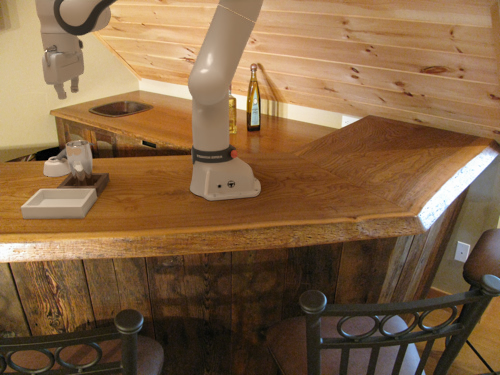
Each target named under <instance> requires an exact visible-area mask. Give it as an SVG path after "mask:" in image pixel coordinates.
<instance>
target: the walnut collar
mask: <svg viewBox="0 0 500 375" xmlns="http://www.w3.org/2000/svg"><path fill="white" fill-rule="evenodd" d="M92 179H93V182H94V186H75V181H74V177H73V174H72V172H71V173H69V174H68V175H67V177H66V178H64V180H63V181H62V182H61V183H60V184H59V185H58V186H57V187H56V188H55V189H85V188H95V189H96V195H97V198H99V197H100V196H101V194H102V193H103V191H105V189H106V187H107V186H108V184H109V183H110V174H109V172H92Z"/></svg>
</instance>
